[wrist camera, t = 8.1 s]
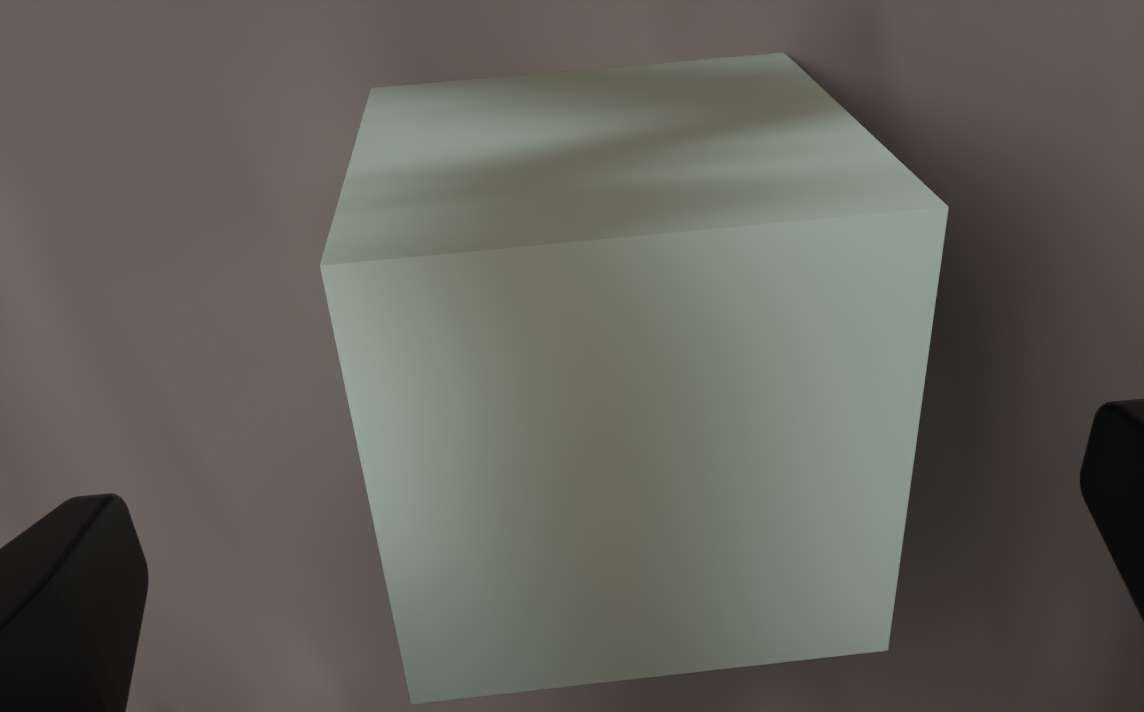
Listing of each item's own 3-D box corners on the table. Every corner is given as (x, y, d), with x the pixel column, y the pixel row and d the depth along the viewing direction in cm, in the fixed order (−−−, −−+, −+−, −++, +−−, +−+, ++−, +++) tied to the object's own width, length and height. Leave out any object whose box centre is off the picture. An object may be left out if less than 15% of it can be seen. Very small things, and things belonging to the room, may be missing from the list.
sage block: (782, 51, 12) (948, 205, 8) (767, 394, 15) (888, 650, 11) (371, 85, 12) (320, 264, 8) (427, 428, 15) (411, 704, 10)
